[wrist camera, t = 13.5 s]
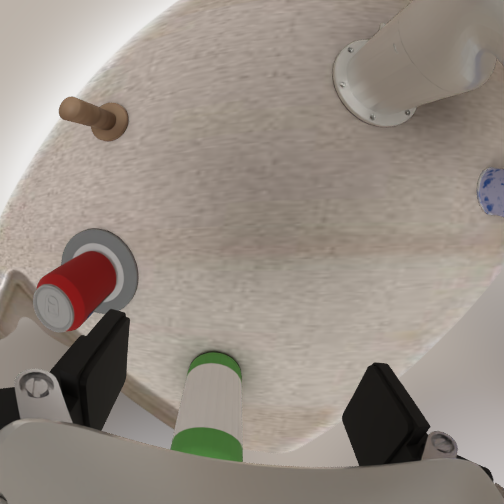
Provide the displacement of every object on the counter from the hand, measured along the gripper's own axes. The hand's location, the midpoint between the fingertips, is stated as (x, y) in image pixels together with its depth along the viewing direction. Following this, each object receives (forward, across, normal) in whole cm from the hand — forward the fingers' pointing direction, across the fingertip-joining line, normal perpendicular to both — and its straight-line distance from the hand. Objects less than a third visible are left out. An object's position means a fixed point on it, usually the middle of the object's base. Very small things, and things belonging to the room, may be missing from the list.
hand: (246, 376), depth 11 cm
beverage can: (+28, +18, +10) cm, 34 cm away
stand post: (+28, +20, -10) cm, 36 cm away
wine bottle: (+28, -1, +21) cm, 35 cm away
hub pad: (+28, +18, +10) cm, 35 cm away
